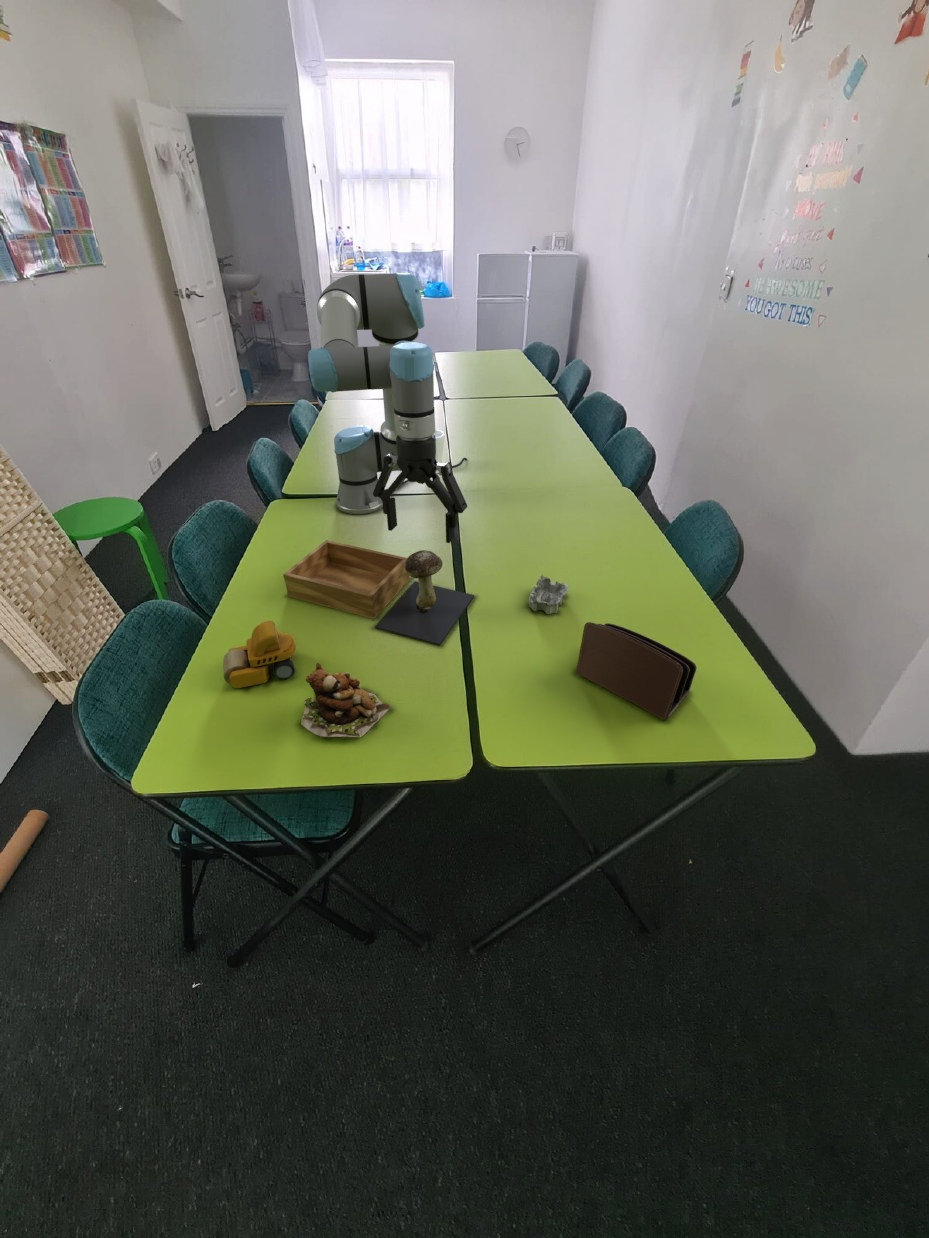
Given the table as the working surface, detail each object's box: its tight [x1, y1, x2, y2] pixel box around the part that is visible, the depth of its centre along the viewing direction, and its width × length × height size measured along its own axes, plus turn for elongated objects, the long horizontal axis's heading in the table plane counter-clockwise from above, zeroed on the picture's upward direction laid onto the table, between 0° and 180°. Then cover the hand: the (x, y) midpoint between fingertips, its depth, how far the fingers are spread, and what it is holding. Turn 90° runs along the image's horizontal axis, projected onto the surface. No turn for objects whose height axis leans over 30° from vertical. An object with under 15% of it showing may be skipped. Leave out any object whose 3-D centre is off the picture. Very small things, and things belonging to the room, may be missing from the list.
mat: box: [374, 580, 475, 647], centre depth 130 cm, size 20×16×1 cm
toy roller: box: [222, 619, 297, 689], centre depth 111 cm, size 9×14×10 cm, turn 111°
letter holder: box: [575, 621, 698, 722], centre depth 107 cm, size 10×20×14 cm, turn 48°
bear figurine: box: [300, 662, 391, 739], centre depth 101 cm, size 14×15×12 cm
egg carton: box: [528, 574, 569, 615], centre depth 132 cm, size 11×8×4 cm
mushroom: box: [405, 549, 443, 612], centre depth 125 cm, size 9×9×15 cm
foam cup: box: [434, 429, 445, 474], centre depth 194 cm, size 10×9×13 cm
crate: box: [282, 539, 411, 620], centre depth 137 cm, size 18×24×6 cm
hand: (421, 533), depth 119 cm, fingers open, 13 cm apart
